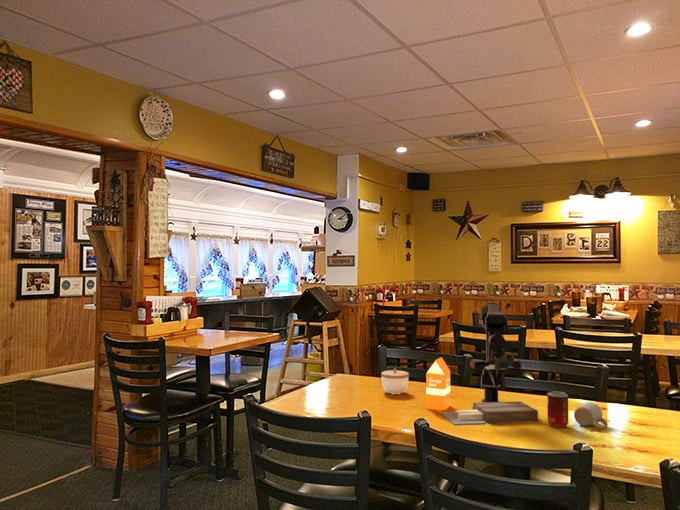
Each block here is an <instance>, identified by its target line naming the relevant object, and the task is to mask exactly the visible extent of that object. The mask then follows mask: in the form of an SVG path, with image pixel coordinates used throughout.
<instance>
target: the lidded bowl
mask: <svg viewBox="0 0 680 510" xmlns="http://www.w3.org/2000/svg"><path fill="white" fill-rule="evenodd" d="M409 374H410V373H409V372H407V371H403V370H397V368H393V370H384V371H382V372H381V374H380V375H381V384H382V387H383V389H384V390H385V392H388V393H395V394H398V393H402V394H403V393H404V392H405V391H406V390H407V388H408V386H409V376H410V375H409ZM388 393H387V394H388ZM398 395H399V394H398Z"/></svg>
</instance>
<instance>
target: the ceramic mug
mask: <svg viewBox="0 0 680 510" xmlns="http://www.w3.org/2000/svg"><path fill="white" fill-rule="evenodd" d="M573 417H574V420H575V421H576V423H577V424H579V425H580V426H582V427H589V426H594V427H596V428H598V429H600V430H601V429H602V430H605V429H607V427H608V425H609V423H608V422H607V421H606V419H604V417H603V411H602V409H601V407H600V406H599V405H598V404H596V403H595V402H592V401H589V402H588V401H587V402H585V403H582V404H581V405H579V406H578V407H577V408H576V409H574V413H573ZM601 423H602V424H601Z"/></svg>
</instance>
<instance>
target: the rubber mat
mask: <svg viewBox="0 0 680 510" xmlns="http://www.w3.org/2000/svg"><path fill="white" fill-rule="evenodd" d="M440 414H441V415H442V417H445V418H446V419H447V420H448V421H449V422H450V423H451V424H452V425H454V426H461V425H465V426H466V425H469V426H470V425H486V424H487V423H486V422H485V421H484V420H482V419H476V420H459V419H458V418H457V417H456V416H455V411H440Z"/></svg>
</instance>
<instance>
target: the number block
mask: <svg viewBox="0 0 680 510" xmlns="http://www.w3.org/2000/svg"><path fill="white" fill-rule="evenodd" d="M454 412H455V416H456V417H457V418H458V419H459V420H476V419H481V420H482V419H483V414H482V413H481V412H480V411H478V410H473V409H462V410H461V409H459V410H458V409H457V410H454Z"/></svg>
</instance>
